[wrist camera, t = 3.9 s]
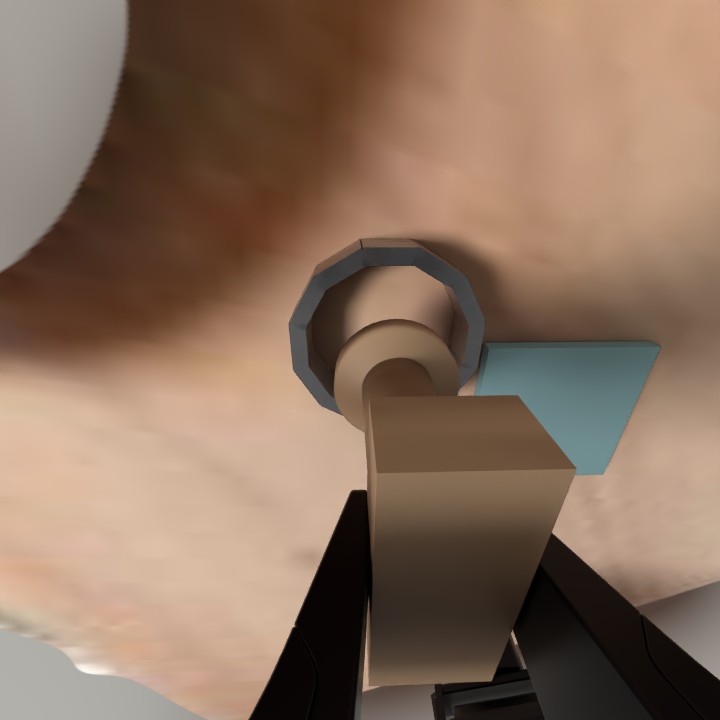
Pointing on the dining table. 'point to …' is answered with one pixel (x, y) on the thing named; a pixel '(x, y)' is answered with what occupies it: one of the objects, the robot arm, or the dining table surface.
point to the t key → (444, 506)
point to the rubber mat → (572, 390)
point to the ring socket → (382, 253)
